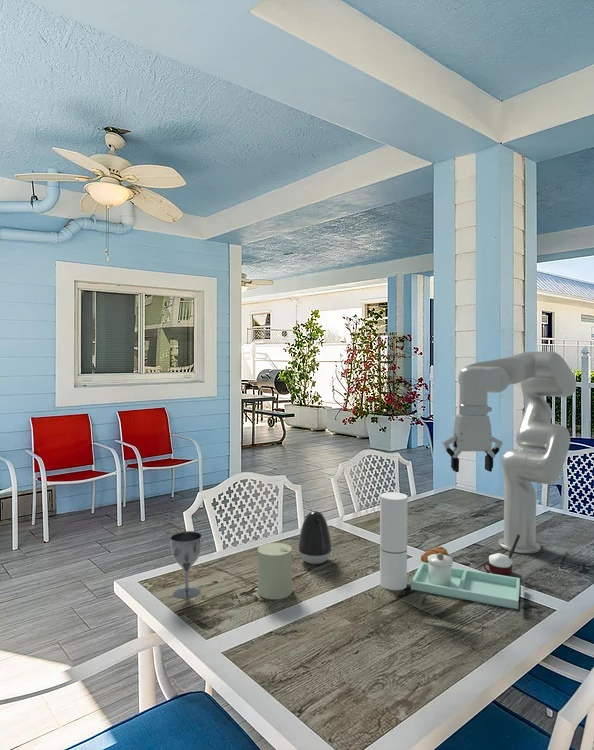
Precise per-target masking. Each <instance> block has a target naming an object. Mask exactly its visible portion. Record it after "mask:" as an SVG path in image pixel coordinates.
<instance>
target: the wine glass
mask: <svg viewBox="0 0 594 750" xmlns="http://www.w3.org/2000/svg"><path fill="white" fill-rule="evenodd" d="M202 542H203V541H202V533H200V532H199V531H193V530H185V531H180V532H179V531H178V532H175V533H173V534H172V535H171V536H170V549H171V554H172V558H173V559H174V561H175V562H176V564H178V565H179V566H180V567H181V569H182V570H183V573H184V582H185V583H184V585H185V586H180V587H178V588H176V589H174V590H173V592H172V594H173V596H174V597H175V598H177V599H183V600H184V599H190V598H195V597H197V596H199V595H200V593H201V589H200V588H199V587H197V586H194V585H189V577H190V570H191V568H192V567H193V565H194V564H195V563H196V562H197V560H198V559H199V558H200V554H201V551H202Z"/></svg>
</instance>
